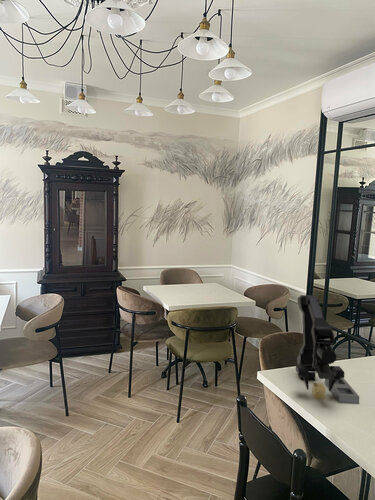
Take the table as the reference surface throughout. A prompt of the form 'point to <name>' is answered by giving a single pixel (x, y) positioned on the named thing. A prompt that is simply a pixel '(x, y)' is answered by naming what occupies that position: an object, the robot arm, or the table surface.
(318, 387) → the brass block
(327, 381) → the grey slotted block
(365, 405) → the table surface
